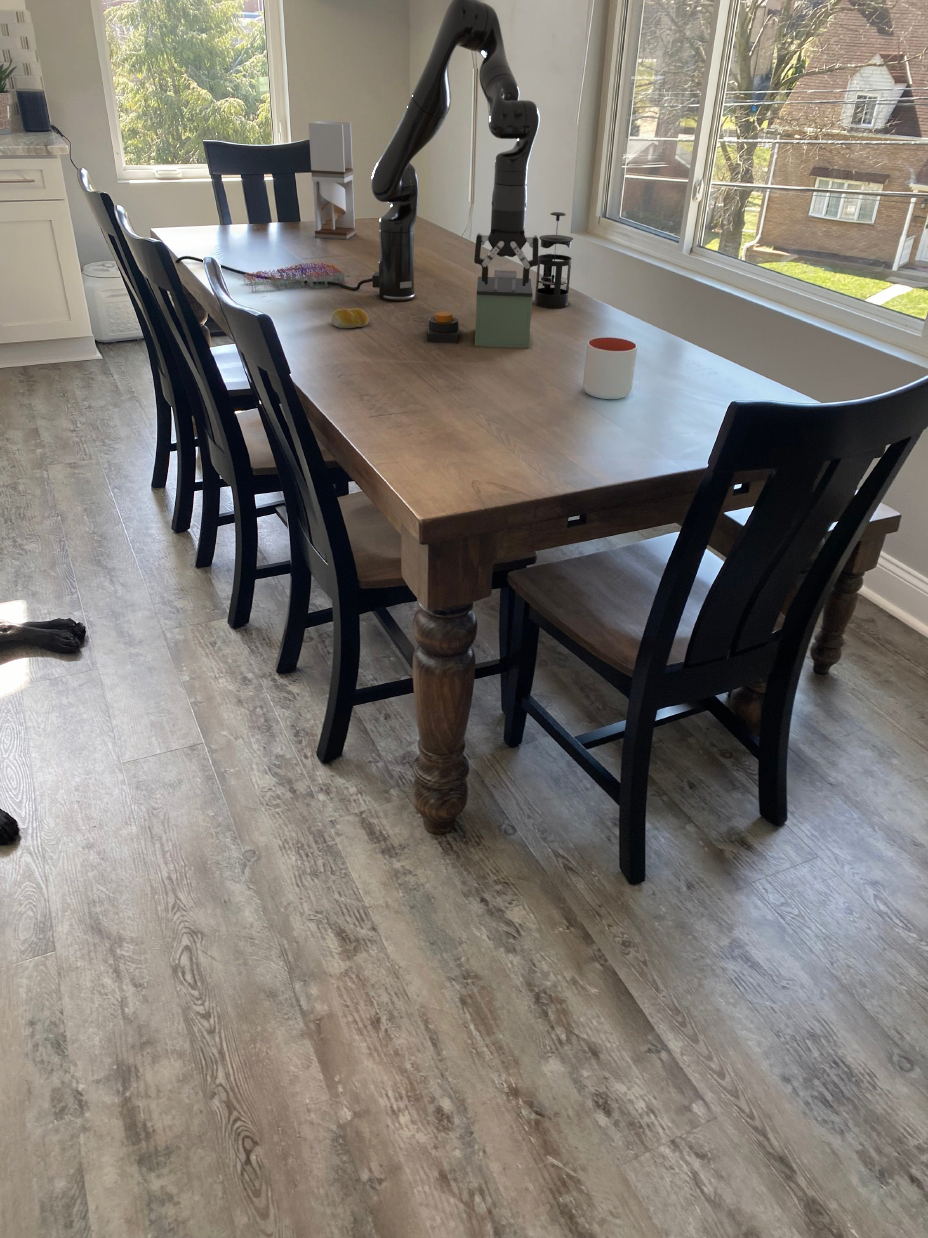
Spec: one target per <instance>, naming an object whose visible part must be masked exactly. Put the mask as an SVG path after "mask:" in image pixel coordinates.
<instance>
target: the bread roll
mask: <svg viewBox="0 0 928 1238" xmlns="http://www.w3.org/2000/svg"><path fill="white" fill-rule="evenodd" d="M330 321H331V324H332V325H333V326H335V328H339V329H354V328H364V327H366V326H367V325H368V323H369V321H370V319H369V316H368V313H367V312H366V311H365V310H364V309H362V308H359V307H354V308H349V309H348V308H339V309H335V311H334V312H333V313H332V315H331V320H330Z"/></svg>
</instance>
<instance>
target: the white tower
mask: <svg viewBox="0 0 928 1238" xmlns="http://www.w3.org/2000/svg"><path fill="white" fill-rule="evenodd" d="M308 137H309V138H308V139H309V154H310V170H311V171H310V172H311V181H312V189H313V204H314V205H313V207H314V222H315V225H314V226H315V230H314V238H318V239H332V240H333V239H334V240H348V239H350V238H351V237H353V236H354V235H355V234H356V225H355V222H356V221H355V202H354V201H355V198H354V197H355V196H354V195H355V192H354V173H353V172H354V169H353V167H354V166H353V165H354V164H353V140H352V139H353V138H352V122H351V121H336V120H335V121H332V120H316V121H311V122H308Z"/></svg>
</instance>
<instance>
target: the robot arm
mask: <svg viewBox="0 0 928 1238" xmlns="http://www.w3.org/2000/svg"><path fill="white" fill-rule="evenodd" d="M444 12H445V13H444V14H443V17H442V20H441V23H440V26H439V28H438V32H437V34H436V36H435V39H434V43H433V46H432V48H431V51H430V54H429V56H428V59H427V61H426V63H425V64H424V68H423V69H422V73H420V74H421V75H420V77H419V79H418V81H417V83H416V85H415V87H414V89H413V92H412V93H411V95H410V98H409V100H408V102H407V105H406V107H405V109H404V112H403V115H402V116H401V119H400V121H399V123H398V125H397V127H396V128H395V130H394V133H393V135H392V137H391V140H390V141H389V143H388V144H387V147H386V148H385V150H384V151H383V154H382V155H381V157H380V158H379V160H378V162H377V163H376V165H375V167H374V170H373V172H372V176H371V182H370V185H371V187H370V188H371V193H372V195H373V196H374V198H375V199H376V200H377V201H378V202H381V203H390V204H391V205H390V207H389V208H388V210H387V211H386V212H384V214H383V215H381V217H380V218H379V220H378V235H379V236H378V237H379V239H378V240H379V260H378V271H374V272H373V274H372V276H371V277H370V278H364V279H362V280H360V281H359V282H357V285H356V287H355V286H349V285H346V284H345V283H342V282H339V283H337V282H334V281H331V282H330V281H328V283H327V281H326V283H327V286H335V287H340V288H342V289H346V290H350V291H354V292H355V291H359V290H360V289H361V286H362V285H363V284H366V283H371V284H372V288H376V289H378V290H379V291H378V292H379V293H378V295H379V296H378V297H379V299H380V300H386V301H392V302H393V301H394V302H405V301H410V300H413V299H415V223H416V221H417V219H418V218H417V217H418V206H419V205H418V203H419V177H418V173H417V170H416V168H415V166H414V165H413V164H412V163H411V162H412V160H413V159H414V158H415V156H416V155H417V154H419V153H420V151H422V150H423V149H424V148H425V147H426V146H427V145H428V144H429V143H430V142H431V141H432V140H433V139H434V138H435V137H436V135H437V134H438V133H439V131H440V130H441V128H442V126H443V124H444V121H445V119H446V117H447V116H448V113H449V111H450V109H451V106H452V105H451V104H452V91H451V90H452V89H451V83H450V82H451V81H450V73H449V72H450V69H449V68H450V63H451V59H452V56H453V53H454V51H455V50H456V48H457V47H460V48H463V49H466V50H470V51H472V52H477V53H479V55H480V56H481V57H482V58H483V59H482V61H481V63H480V66H479V71H478V81H479V85H480V88H481V90H482V93H483V95H484V98H485V100H486V102H487V110H488V117H487V118H488V121H487V122H488V129H489V132H490V133H491V134H492V136H494V137H495V138H496V139H500V140H516V142H515V144H514V146H513V147H512V148H510V149H509V150H505V151H501V152H499V153H497V154H496V156H495V159H494V176H493V177H494V178H493V187H492V194H491V214H490V215H491V217H490V232H489V234H488V235H487V234H482V233H480V232H479V233H477V234H476V238H475V247H474V258H473V262H474V264H476V265H479V266H481V277H482V282H485V284H486V285H488V277H489V264H490V263H491V262H492V260H493V259H494V258H495V257H496V256H498V257H499V258H504V257H509V258H514V257H516V256H517V258H518V260H519V261H520V262H521V264H522V265H523V267H522V286H525V284H526V283H528V282H529V279H530V269H531V268H533V267H537V265H538V256H539V240H540V239H539V237H538V235H535V234H534V235H533V236H526V218H527V207H528V171H529V162H530V158H531V154H532V150H533V147H534V143H535V140H536V137H537V134H538V131H539V127H540V123H541V122H540V119H541V115H540V111H539V108H538V106H537V104H536V103H535V102H534V101H533V100H528V99H526V100H525V99H524V100H523V99H520V95H521V94H520V93H521V92H520V88H519V85H518V83H517V81H516V77H515V76H514V74H513V71H512V69H511V67H510V65H509V62H508V59H507V58H508V57H507V54H506V49H505V44H504V39H503V34H502V28H501V23H500V19H499V17H498V14H497V12H496V10H495V8H493V6H491V5H490V4H488V3H486V2H483V1H481V0H451V1H450V2H449V4H448V6H447V7H446V10H445V11H444ZM486 242H488V243H489V245H490V246H491V248H490V250H489V251H488V253H487V254H486V256H485V257H484V258H483V257H481V251H482V247H483V246H485V244H486ZM527 243H528V246H529V248H532V255H531V256H532V257H531V258H532V259H530V260H528V257H527V256H526V255H525V252H524V251H523V248H524V247H525V245H526V244H527ZM202 259H203V258H199V257H195V256H192V255H183V256H180V257H178V258H177V259H176V260H175V263H176V264H177V263H178V264H179V263H180V262H181V261H184V260H191V261H195V262H198V263H202V264H204V263H203V260H204V259H203V260H202ZM219 264H220V263H219ZM220 265H221V268H220V269H223V270H226V271H229V272H232V273H234V274H239V275H241V276H244V274H246V275H247V274H248V273H250V274H251V273H252V272H247V271H244V270H240V269H236V268H233V267H230V266H227V265H224V264H220ZM248 275H249V274H248ZM251 276H252V275H251ZM254 276H255V275H254ZM252 277H253V276H252ZM257 277H258V279H260V277H259V276H258V275H257ZM257 277H255V278H254V277H253V278H254V279H257ZM262 277H263V278H262ZM262 277H261V278H262V279H264V278H266V279H264V280H265V281H266V280H267V281H268V278H267V277H270V276H265V275H263V276H262ZM271 277H272V276H271ZM271 277H270V278H269V279H271ZM262 279H261V280H262ZM278 279H279V280H281V278H280V277H278ZM291 279H292V278H291ZM274 280H275V279H274ZM276 280H277V279H276ZM284 280H286V278H284ZM293 280H294V279H292V280H291V281H293ZM295 280H296V279H295ZM295 280H294V283H295ZM297 280H298V279H297ZM297 280H296V281H297ZM318 281H319V282H314V285H316V284H317V285H321V286H325V285H324V284H325V281H322V280H321V281H320V280H318ZM298 283H299V284H300V281H298ZM304 283H305V284H306V285H308V284H307V281H304ZM304 283H303V284H304ZM310 283H311V282H310ZM312 283H313V282H312ZM292 284H293V282H292Z"/></svg>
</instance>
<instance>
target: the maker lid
mask: <svg viewBox="0 0 928 1238" xmlns="http://www.w3.org/2000/svg"><path fill="white" fill-rule="evenodd" d="M493 275H494V276H488V285H486V284H485V282H482V276H477V284H476V285H477V286H476V296H477V295H495V296H520V297H532V298H533V296H534V294H533V285H532V278H529V282H528V283H526V284H525V286H522V278H523V277H522V278H521V277H517V276H518V271H517V270H504V269H503V270H502V269H495V270H494V273H493Z"/></svg>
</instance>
